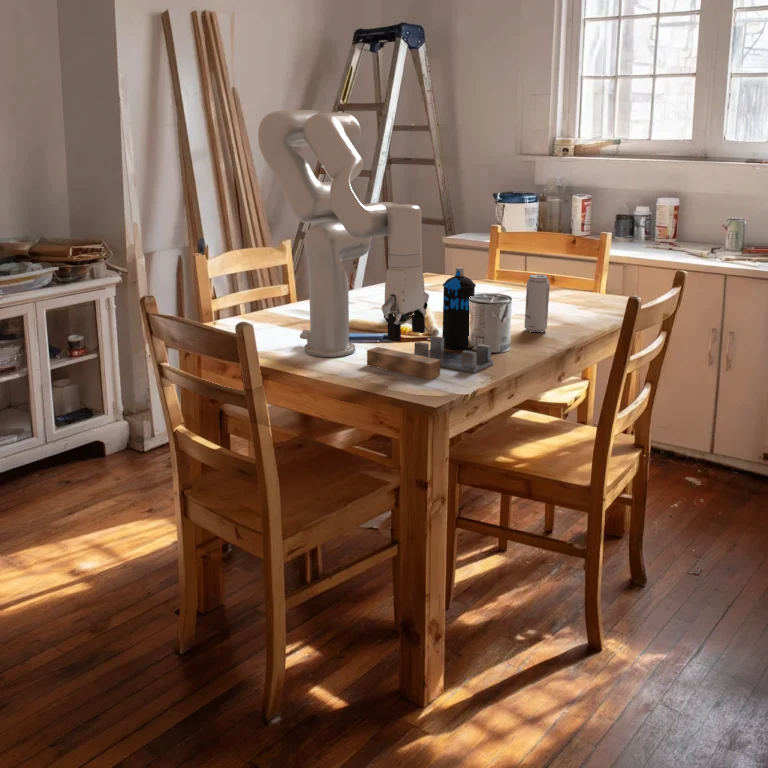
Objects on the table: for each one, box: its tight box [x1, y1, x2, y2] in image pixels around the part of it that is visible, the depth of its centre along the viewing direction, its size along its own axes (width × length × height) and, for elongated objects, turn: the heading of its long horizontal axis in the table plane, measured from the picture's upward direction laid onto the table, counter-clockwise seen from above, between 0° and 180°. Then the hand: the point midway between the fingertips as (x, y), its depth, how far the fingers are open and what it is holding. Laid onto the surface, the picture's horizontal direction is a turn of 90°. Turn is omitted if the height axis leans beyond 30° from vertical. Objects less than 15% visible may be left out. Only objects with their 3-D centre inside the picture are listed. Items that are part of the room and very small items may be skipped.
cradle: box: [414, 335, 494, 374], centre depth 213 cm, size 17×9×4 cm, turn 55°
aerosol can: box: [441, 266, 477, 351], centre depth 225 cm, size 8×8×20 cm
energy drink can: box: [524, 273, 551, 332], centre depth 241 cm, size 6×6×15 cm
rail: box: [366, 346, 441, 380], centre depth 207 cm, size 18×4×4 cm, turn 52°
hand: (406, 336), depth 204 cm, fingers open, 9 cm apart
